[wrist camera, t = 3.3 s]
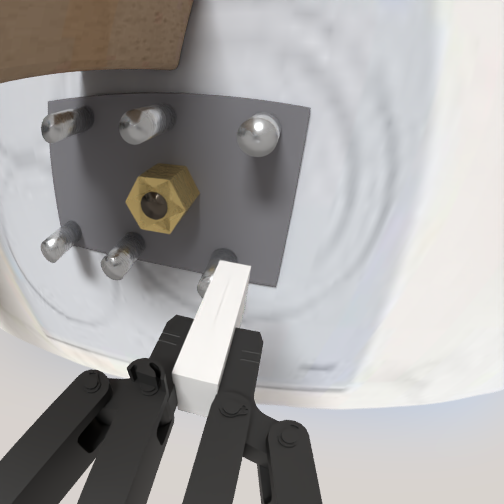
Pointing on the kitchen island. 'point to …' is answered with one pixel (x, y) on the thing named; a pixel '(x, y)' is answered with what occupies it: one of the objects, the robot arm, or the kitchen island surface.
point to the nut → (162, 197)
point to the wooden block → (89, 35)
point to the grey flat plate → (201, 169)
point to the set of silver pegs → (135, 132)
